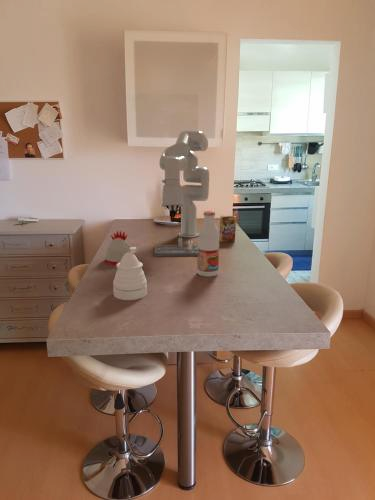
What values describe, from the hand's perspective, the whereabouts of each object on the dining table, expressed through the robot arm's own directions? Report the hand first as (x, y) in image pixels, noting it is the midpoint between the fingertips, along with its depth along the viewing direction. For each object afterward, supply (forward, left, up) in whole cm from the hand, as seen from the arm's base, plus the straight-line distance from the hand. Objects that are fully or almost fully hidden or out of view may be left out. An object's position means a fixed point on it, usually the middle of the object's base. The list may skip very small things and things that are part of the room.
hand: (172, 217), depth 200 cm
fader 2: (+1, +10, -17) cm, 20 cm away
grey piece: (+14, -26, -19) cm, 35 cm away
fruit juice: (+35, +15, -19) cm, 42 cm away
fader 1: (-6, +5, -17) cm, 19 cm away
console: (-1, +3, -19) cm, 19 cm away
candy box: (-23, +34, -19) cm, 45 cm away
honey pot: (+57, -18, -19) cm, 62 cm away
